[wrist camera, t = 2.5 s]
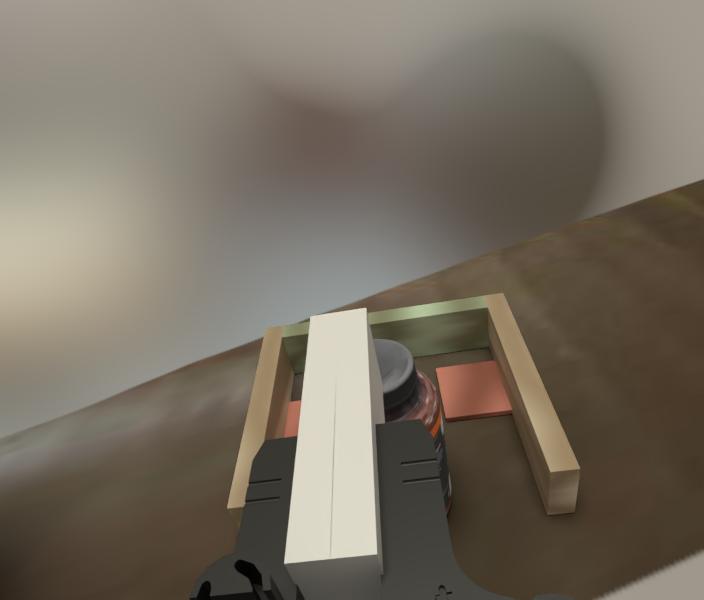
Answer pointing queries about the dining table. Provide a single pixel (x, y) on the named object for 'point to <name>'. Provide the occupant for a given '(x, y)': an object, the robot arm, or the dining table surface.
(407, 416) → the supplement bottle
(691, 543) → the dining table surface
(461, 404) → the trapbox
